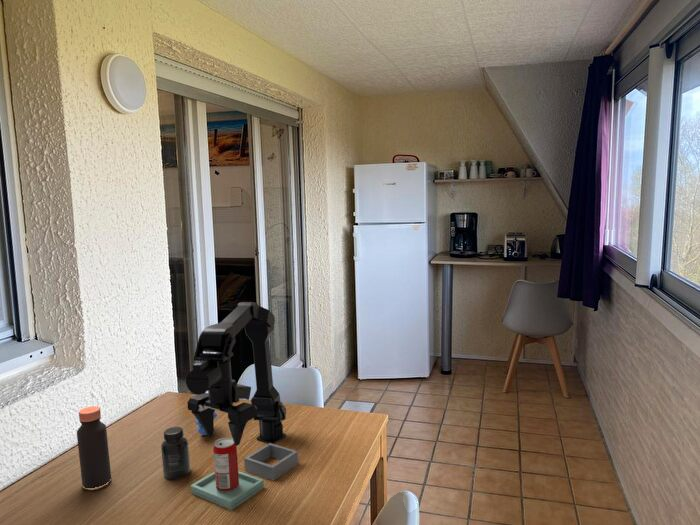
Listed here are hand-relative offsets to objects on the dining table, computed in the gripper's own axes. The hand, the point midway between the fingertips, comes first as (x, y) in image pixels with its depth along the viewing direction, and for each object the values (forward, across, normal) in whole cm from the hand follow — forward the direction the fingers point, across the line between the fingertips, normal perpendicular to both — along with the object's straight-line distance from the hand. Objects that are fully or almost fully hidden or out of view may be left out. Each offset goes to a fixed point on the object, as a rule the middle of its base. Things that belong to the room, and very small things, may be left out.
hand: (224, 440), depth 129 cm
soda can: (+12, 0, 0) cm, 12 cm away
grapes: (+13, +29, -19) cm, 37 cm away
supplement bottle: (+13, +18, +1) cm, 22 cm away
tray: (+13, 0, 0) cm, 13 cm away
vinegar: (+13, +32, +15) cm, 38 cm away
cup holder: (+13, -2, -14) cm, 19 cm away
